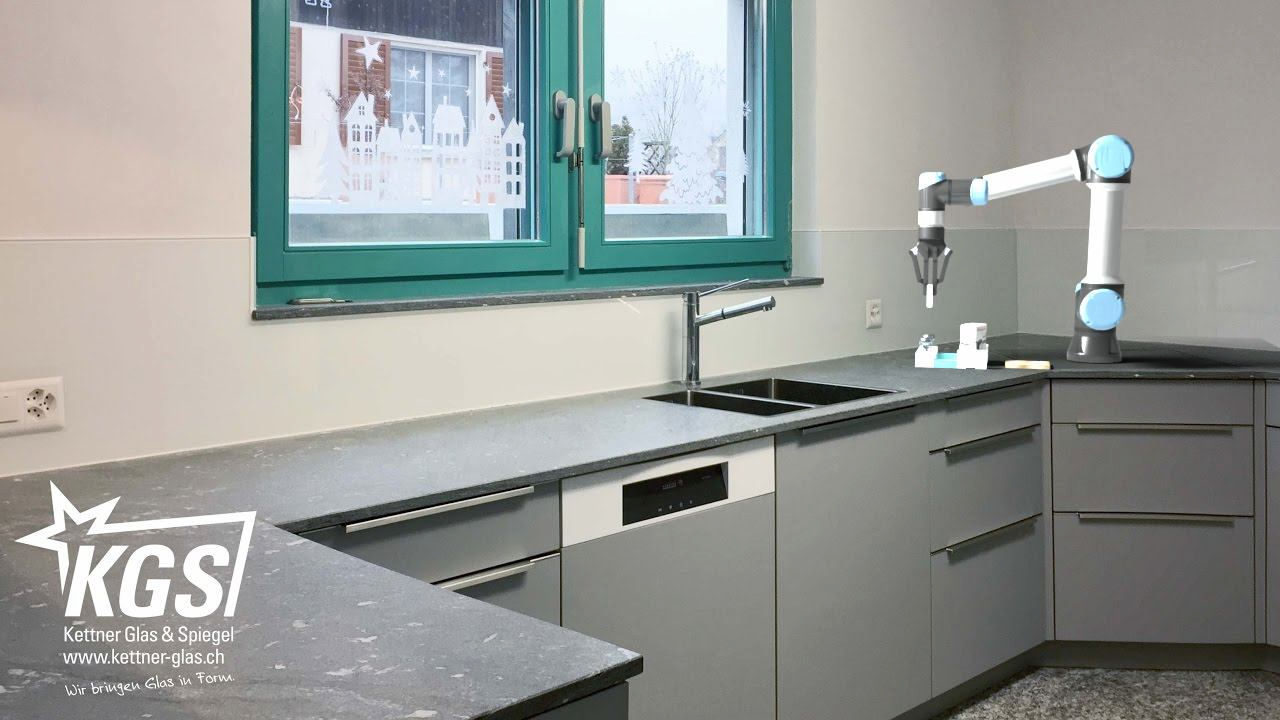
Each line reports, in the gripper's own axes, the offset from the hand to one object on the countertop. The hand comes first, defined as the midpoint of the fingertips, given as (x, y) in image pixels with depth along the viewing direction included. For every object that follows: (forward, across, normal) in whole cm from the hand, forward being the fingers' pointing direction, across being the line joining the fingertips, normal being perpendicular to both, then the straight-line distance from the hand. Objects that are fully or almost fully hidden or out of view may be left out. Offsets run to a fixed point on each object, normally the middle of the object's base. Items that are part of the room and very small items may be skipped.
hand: (929, 306), depth 355 cm
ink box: (+16, -13, +5) cm, 21 cm away
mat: (+16, -28, +5) cm, 33 cm away
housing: (+16, -7, +5) cm, 18 cm away
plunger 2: (+15, 0, +10) cm, 18 cm away
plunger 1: (+15, 0, 0) cm, 15 cm away
